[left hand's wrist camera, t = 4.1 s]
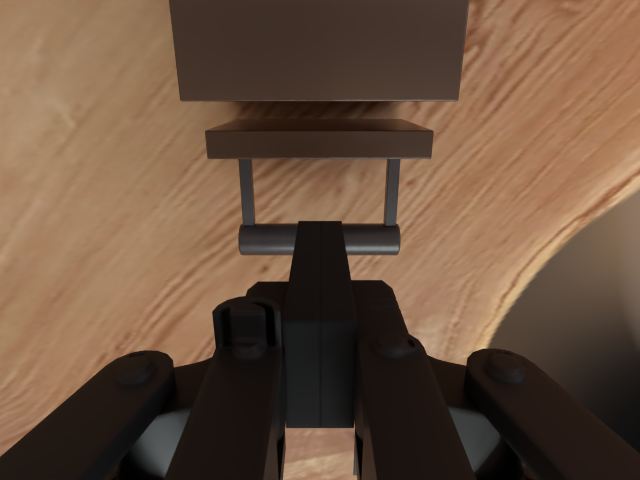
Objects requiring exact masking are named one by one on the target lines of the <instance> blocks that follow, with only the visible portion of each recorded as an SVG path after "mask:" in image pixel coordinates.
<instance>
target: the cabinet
mask: <svg viewBox="0 0 640 480" xmlns="http://www.w3.org/2000/svg"><path fill="white" fill-rule="evenodd" d="M169 4H170V13H171V22H172V31H173V39H174V48H175V57H176V66H177V75H178V84H179V93H180V100H181V101H458V98H459V89H460V80H461V71H462V62H463V53H464V44H465V35H466V26H467V17H468V8H469V0H169Z"/></svg>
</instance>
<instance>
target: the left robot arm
mask: <svg viewBox="0 0 640 480" xmlns="http://www.w3.org/2000/svg"><path fill="white" fill-rule="evenodd" d="M212 314H213V324H214V333H215V343H216V349H215V352H214V354H213V357H211V358H209V359H207V360H204V361H201V362H197V363H194V364H189V365H184V366H179V367H175V368H174V365H173V360H172V359H171V358H170V357H169V356H168V354H165V353H162V352H159V351H146V350H144V351H139V352H133V353H130V354H127V355H125V356H122V357H120V358H117V359H115V360H114V361H112V362H111V363H109V364H108V365H106V366H105V367H104V368H103V369H102V370H100V371H99V372H98V373H97V374H96V375H95V376H93V377H92V378H91V379H90V380H89V381H88V382H87V383H85V384H84V385H83V386H82V387H81V388H80V389H78V390H77V391H76V392H75V393H74V394H73V395H71V396H70V397H69V398H68V399H67V400H66V401H65V402H63V403H62V404H61V405H60V406H59V407H58V408H56V409H55V410H54V411H53V412H52V413H51V414H49V415H48V416H47V417H46V418H45V419H44V420H43V421H41V422H40V423H39V424H38V425H37V426H36V427H34V428H33V429H32V430H31V431H30V432H29V433H27V434H26V435H25V436H24V437H23V438H22V439H21V440H19V441H18V442H17V443H16V444H15V445H14V446H12V447H11V448H10V449H9V450H8V451H7V452H6V453H4V454H3V455H2V456H1V457H0V480H283V471H284V460H285V449H286V446H285V423H286V428H354V421H355V446H354V472H353V475H357V480H640V454H639V453H638V452H637V451H636V450H635V449H633V448H632V447H631V446H630V445H629V444H627V443H626V442H625V441H624V440H623V439H622V438H621V437H619V436H618V435H617V434H616V433H615V432H614V431H612V430H611V429H610V428H609V427H608V426H607V425H605V424H604V423H603V422H602V421H601V420H600V419H598V418H597V417H596V416H595V415H594V414H593V413H591V412H590V411H589V410H588V409H587V408H586V407H584V406H583V405H582V404H581V403H580V402H579V401H577V400H576V399H575V398H574V397H573V396H572V395H570V394H569V393H568V392H567V391H566V390H564V389H563V388H562V387H561V386H560V385H559V384H557V383H556V382H555V381H554V380H553V379H552V378H551V377H549V376H548V375H547V374H546V373H545V372H544V371H542V370H541V369H540V368H539V367H538V366H537V365H535V364H534V363H532V362H531V361H529V360H528V359H526V358H525V357H523V356H521V355H518V354H515V353H513V352H511V351H507V350H502V349H481V350H478V351H475V352H473V353H472V354H471V355H470V356H469V357H468V358H467V365H466V366H465V365H460V364H455V363H450V362H445V361H442V360H438V359H435V358H433V357H431V356H428V355H427V354H426V351H425V349H424V347H423V345H422V344H421V343H420V341H419V340H418V339H416V338H415V337H413V336H411V335H410V334H409V333H408V330H407V328H406V325H405V322H404V319H403V317H402V314H401V311H400V309H399V306H398V303H397V300H396V297H395V295H394V292H393V289H392V288H391V287H390V286H388V285H387V284H386V283H385V282H383V281H382V280H351V277H350V271H349V265H348V258H347V252H346V246H345V240H344V234H343V228H342V222H341V221H299V222H298V228H297V234H296V240H295V246H294V252H293V258H292V265H291V271H290V277H289V282H257V283H256V284H255V285H253V286H252V287H251V288H250V289H248V291H247V293H246V296H243V297H237V298H233V299H230V300H227V301H225V302H223V303H221V304H219V305H218V306H217V307H216V308H215V309H214V310H213V312H212Z"/></svg>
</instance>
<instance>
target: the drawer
mask: <svg viewBox="0 0 640 480" xmlns="http://www.w3.org/2000/svg"><path fill="white" fill-rule="evenodd" d="M433 133H434V132H433V131H432V130H429V129H427V128H424V127H421V126H419V125H416V124H413V123H411V122H408V121H405V120H402V119H236V120H234V121H231V122H228V123H226V124H223V125H220V126H217V127H215V128H212V129H209V130H206V131H205V137H206V147H207V158H208V159H239V172H240V186H241V201H242V216H243V224H241V225H240V228H239V238H238V240H239V250H240V253H241V255H293V252H294V246H295V240H296V234H297V228H298V224H255V207H254V189H253V172H252V159H387V169H386V187H385V204H384V224H342V228H343V234H344V240H345V246H346V252H347V255H398V253H399V250H400V229H399V225H398V224H396V216H397V201H398V186H399V171H400V159H431V155H432V144H433Z"/></svg>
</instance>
